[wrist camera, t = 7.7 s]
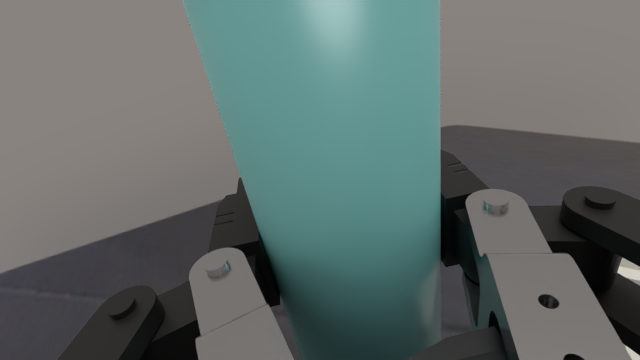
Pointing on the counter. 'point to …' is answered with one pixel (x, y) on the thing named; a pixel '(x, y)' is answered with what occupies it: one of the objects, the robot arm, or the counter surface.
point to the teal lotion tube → (337, 161)
